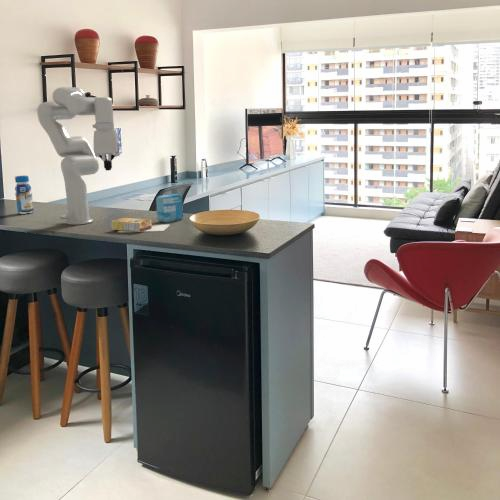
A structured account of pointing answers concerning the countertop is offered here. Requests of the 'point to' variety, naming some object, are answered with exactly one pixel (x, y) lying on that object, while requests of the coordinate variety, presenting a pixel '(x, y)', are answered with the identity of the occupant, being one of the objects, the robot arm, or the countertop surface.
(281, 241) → the countertop surface
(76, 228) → the countertop surface
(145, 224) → the candy box
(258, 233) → the countertop surface
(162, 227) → the felt mat
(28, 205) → the beverage bottle
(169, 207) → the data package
